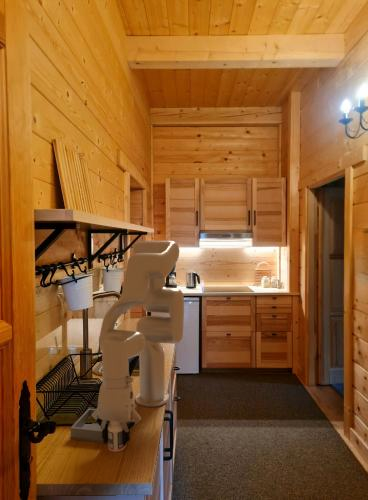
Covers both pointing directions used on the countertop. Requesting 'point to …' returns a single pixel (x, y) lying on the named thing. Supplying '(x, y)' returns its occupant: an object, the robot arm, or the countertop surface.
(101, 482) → the countertop surface
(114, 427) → the pill bottle
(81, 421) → the bin
